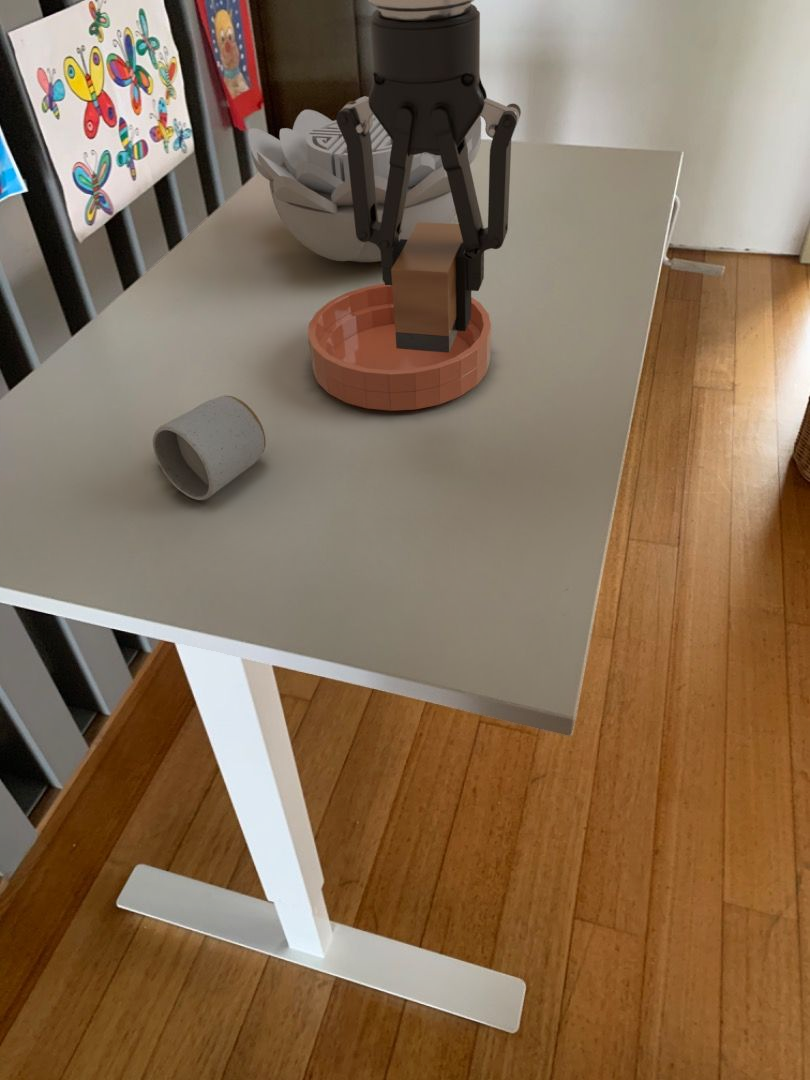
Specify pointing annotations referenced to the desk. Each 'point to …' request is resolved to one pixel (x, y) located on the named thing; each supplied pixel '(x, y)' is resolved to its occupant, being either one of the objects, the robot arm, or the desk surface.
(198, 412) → the ceramic mug
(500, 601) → the desk surface
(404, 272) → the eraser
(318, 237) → the decorative bowl
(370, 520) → the desk surface
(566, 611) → the desk surface
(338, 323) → the terracotta bowl
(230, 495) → the desk surface
